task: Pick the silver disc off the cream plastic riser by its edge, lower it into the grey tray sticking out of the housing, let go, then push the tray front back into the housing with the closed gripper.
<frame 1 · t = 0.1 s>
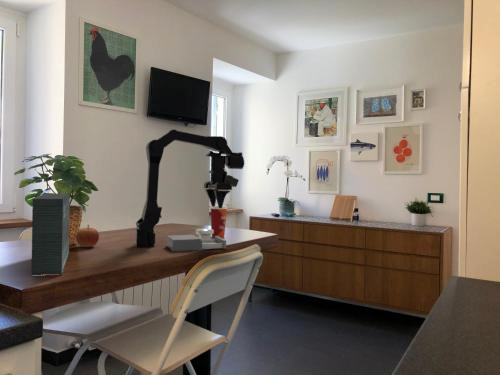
hand: (216, 207, 162), 14 cm above the table, fingers open, 9 cm apart
apple: (87, 247, 146), on the table
tray: (208, 242, 153), point 2 cm above the table, slide at 8.0 cm
riser: (204, 242, 163), on the table
paper cup: (218, 237, 180), on the table
housing: (184, 247, 150), on the table
disc: (204, 233, 163), point 3 cm above the table, touching riser
cassette player: (52, 265, 117), on the table
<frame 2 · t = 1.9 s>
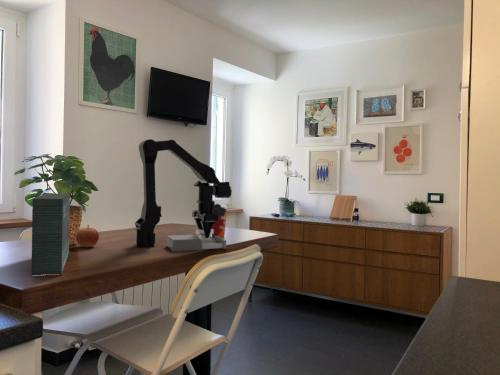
hand: (204, 236, 163), 2 cm above the table, fingers closed on disc, 7 cm apart
disc: (204, 233, 163), point 4 cm above the table, touching gripper, riser
everything else where it was.
when the fingers open (3 cm above the table, at t = 5.4 s): disc drops 3 cm, resting on tray.
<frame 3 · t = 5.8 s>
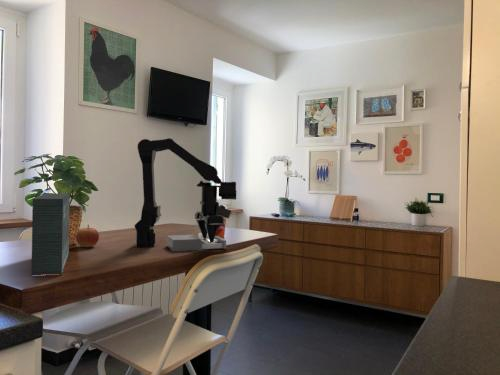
hand: (208, 240, 153), 3 cm above the table, fingers open, 9 cm apart
tray: (208, 242, 153), point 2 cm above the table, slide at 8.0 cm, touching disc
disc: (208, 244, 153), point 1 cm above the table, touching tray
everything else where it was.
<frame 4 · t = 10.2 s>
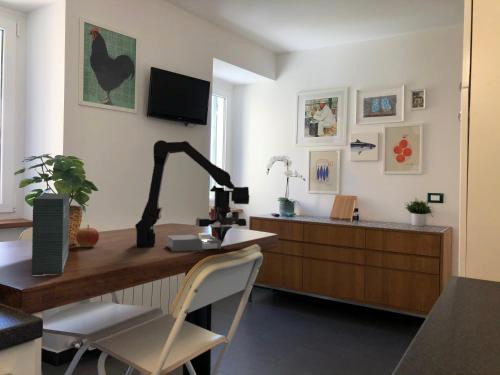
hand: (220, 244, 155), 1 cm above the table, fingers closed
tray: (204, 242, 152), point 2 cm above the table, slide at 6.2 cm, touching disc, gripper
disc: (203, 244, 152), point 1 cm above the table, touching tray
everything else where it was.
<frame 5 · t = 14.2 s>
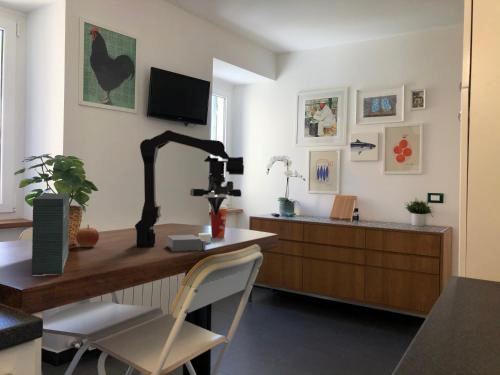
hand: (215, 215, 154), 12 cm above the table, fingers closed
tray: (188, 243, 150), point 2 cm above the table, slide at 0.1 cm, touching disc
disc: (187, 245, 150), point 1 cm above the table, touching tray
everything else where it was.
at the end: tray slide at 0.1 cm; disc inside the target area on the housing (0.6 cm from its centre), point 1.0 cm above the housing's base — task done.
